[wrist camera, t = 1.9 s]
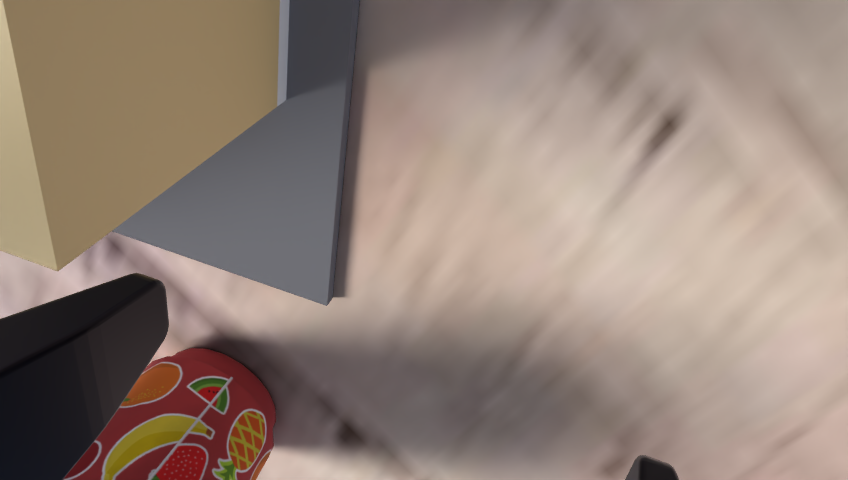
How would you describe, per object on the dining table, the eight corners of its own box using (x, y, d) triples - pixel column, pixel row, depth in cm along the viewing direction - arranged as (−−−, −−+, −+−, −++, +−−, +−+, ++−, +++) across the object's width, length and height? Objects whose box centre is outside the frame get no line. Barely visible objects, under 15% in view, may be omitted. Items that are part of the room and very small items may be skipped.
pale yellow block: (286, 99, 23) (57, 271, 15) (125, 52, 24) (-168, 189, 16) (293, -103, 19) (-2, -23, 11) (104, -147, 20) (-287, -102, 12)
